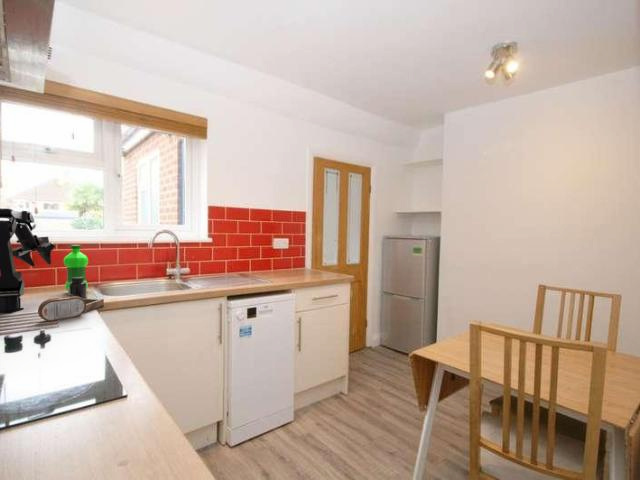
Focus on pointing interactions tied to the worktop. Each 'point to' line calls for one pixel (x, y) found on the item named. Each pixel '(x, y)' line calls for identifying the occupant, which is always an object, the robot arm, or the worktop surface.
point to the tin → (61, 308)
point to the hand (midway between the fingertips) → (41, 265)
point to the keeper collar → (93, 304)
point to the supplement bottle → (78, 287)
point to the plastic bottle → (75, 264)
